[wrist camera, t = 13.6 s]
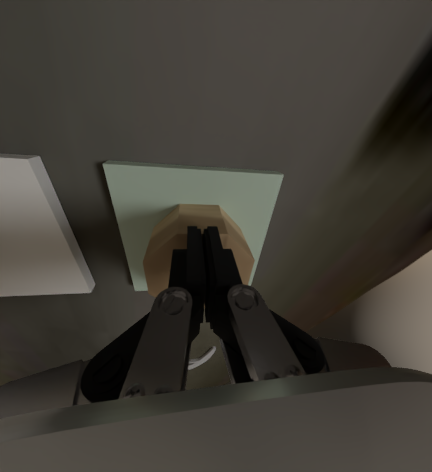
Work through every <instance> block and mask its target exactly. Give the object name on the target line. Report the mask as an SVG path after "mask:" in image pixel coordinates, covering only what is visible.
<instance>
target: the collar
mask: <svg viewBox="0 0 432 472" xmlns="http://www.w3.org/2000/svg"><path fill="white" fill-rule="evenodd" d="M187 226H197V229H201V234H202V244H203V231H204V229H207V226H217V227H218V231H219V235H220V239H221V243H222V247H223V249H232V252H233V255H234V258H235V261H236V264H237V267H238V270H239V274H240V277H241V280H242V283H243V284H245V285H248V283H249V279H250V276H251V272H252V269H253V265H254V261H255V260H254V257H253V255H252V253H251V251H250V248H249V246H248V244H247V242H246V240H245V237H244V235H243V233H242V231H241V228H240V227H239V226H238V225H237V224H236V223H235V222H234V221H233V220H232V219H231V218H230V217H229V215H228V214H227V213H226V212H225V211H224V210H223V209H222V208H221V207H220V206H219V205H204V204H179V205H178V206H177V207H176V208H175V209H173V210H172V211H171V212H170V213H169V214H168V215H167V216H166V217H165V218H163V219H162V220H161V221H160V222H159V223H158V224H157V225H156V226H155V227H154V228H153V231H152V234H151V237H150V241H149V244H148V247H147V250H146V253H145V256H144V259H143V267H144V272H145V278H146V283H147V288H148V293H149V294H150V295H152V296H154V297H157V295H158V294H159V293H160V292H161V291H163V290H165V289H167V288H168V284H169V276H170V268H171V260H172V252H173V249H187ZM204 308H205V305H204Z"/></svg>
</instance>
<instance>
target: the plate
mask: <svg viewBox="0 0 432 472" xmlns="http://www.w3.org/2000/svg"><path fill="white" fill-rule="evenodd" d="M103 168H104V172H105V176H106V180H107V183H108V187H109V191H110V195H111V199H112V203H113V207H114V211H115V215H116V219H117V222H118V226H119V230H120V234H121V238H122V242H123V246H124V250H125V254H126V258H127V261H128V265H129V269H130V273H131V277H132V281H133V285H134V289H135V291H146V290H148V288H147V283H146V278H145V272H144V267H143V259H144V256H145V253H146V250H147V247H148V244H149V241H150V237H151V234H152V231H153V228H154V227H155V226H156V225H157V224H158V223H159V222H160V221H161V220H162V219H163V218H165V217H166V216H167V215H168V214H169V213H170V212H171V211H172V210H173V209H175V208H176V207H177V206H178V205H179V204H204V205H219V206H220V207H221V208H222V209H223V210H224V211H225V212H226V213H227V214H228V215H229V217H230V218H231V219H232V220H233V221H234V222H235V223H236V224H237V225H238V226H239V227H240V228H241V231H242V233H243V235H244V237H245V240H246V242H247V244H248V246H249V248H250V251H251V253H252V255H253V257H254V260H255V261H254V265H253V269H252V272H251V276H250V279H249V283H248V285H249V286H251V283H252V280H253V276H254V273H255V270H256V266H257V263H258V260H259V256H260V253H261V249H262V246H263V243H264V239H265V236H266V233H267V229H268V226H269V223H270V219H271V216H272V213H273V209H274V206H275V203H276V199H277V196H278V192H279V189H280V186H281V182H282V179H283V176H284V175H283V174H282V173H280V172H278V171H266V170H251V169H235V168H220V167H204V166H189V165H173V164H158V163H142V162H127V161H111V160H108V161H106V162H105V163H103Z"/></svg>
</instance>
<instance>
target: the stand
mask: <svg viewBox="0 0 432 472" xmlns="http://www.w3.org/2000/svg"><path fill="white" fill-rule="evenodd" d="M94 286H95V282H94V280H93V278H92V275H91V273H90V271H89V268H88V266H87V264H86V262H85V259H84V257H83V255H82V252H81V250H80V248H79V245H78V243H77V241H76V239H75V236H74V234H73V232H72V229H71V227H70V225H69V222H68V220H67V218H66V216H65V213H64V211H63V209H62V206H61V204H60V202H59V199H58V197H57V195H56V193H55V190H54V188H53V186H52V183H51V181H50V179H49V176H48V174H47V172H46V170H45V167H44V165H43V163H42V160H41V158H40V156H34V155H18V154H3V153H0V297H1V296H25V295H50V294H74V293H91V292H92V290H93V288H94Z"/></svg>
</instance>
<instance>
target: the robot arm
mask: <svg viewBox="0 0 432 472" xmlns="http://www.w3.org/2000/svg"><path fill="white" fill-rule="evenodd" d="M204 305H205V317H206V322H210V328H211V329H213V332H214V333H215V334H216V335H218V336H219V337H220V343H221V347H222V351H223V354H224V358H225V361H226V365H227V368H228V372H229V375H230V379H231V382H232V384H231V385H223V386H216V387H208V388H200V389H193V390H185V389H186V382H187V374H188V366H189V359H190V351H191V342H192V341H193V340H194V339H195V338H196V336H197V335H198V334H199V331H200V323H203V314H204ZM0 472H432V374H429V373H425V372H422V371H418V370H413V369H407V368H397V367H391V366H390V364H389V363H388V361H387V360H386V359H385V357H384V356H382V355H381V354H380V353H379V352H378V351H377V350H375V349H373V348H372V347H370V346H367V345H364V344H359V343H352V342H346V341H340V340H333V339H328V338H322V337H318V338H317V339H314V338H312V337H311V336H310V335H308V334H307V333H306V332H304V331H302V330H301V329H299V328H298V327H296V326H295V325H293V324H292V323H290V322H288V321H287V320H285V319H284V318H282V317H281V316H279V315H277V314H276V313H274V312H273V311H271V310H270V309H269V308H268V307H267V305H266V303H265V301H264V300H263V298H262V296H261V295H260V293H259V292H258V291H257V290H256V289H255V288H253V287H251V286H249V285H245V284H243V283H242V280H241V277H240V274H239V270H238V267H237V264H236V261H235V258H234V255H233V252H232V249H223V247H222V243H221V239H220V235H219V231H218V227H217V226H207V229H204V231H203V244H202V234H201V229H197V226H187V249H173V252H172V260H171V268H170V276H169V284H168V288H167V289H165V290H163V291H161V292H160V293H159V294H158V295H157V297H156V299H155V300H154V303H153V306H152V309H151V311H150V312H149V313H148V314H147V315H145V316H144V317H143V318H142V319H140V320H139V321H138V322H137V323H135V324H134V325H133V326H131V327H130V328H129V329H128V330H126V331H125V332H124V333H123V334H121V335H120V336H119V337H118V338H116V339H115V340H114V341H113V342H111V343H110V344H109V345H108V346H106V347H105V348H104V349H103V350H101V351H100V352H99V353H98V354H97V355H96V356H94V357H93V358H92V359H90V360H87V361H83V360H82V359H81V360H78V361H75V362H71V363H68V364H65V365H62V366H59V367H56V368H52V369H49V370H46V371H43V372H40V373H36V374H33V375H30V376H27V377H24V378H20V379H17V380H14V381H11V382H8V383H6V384H4V385H2V386H0Z"/></svg>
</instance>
